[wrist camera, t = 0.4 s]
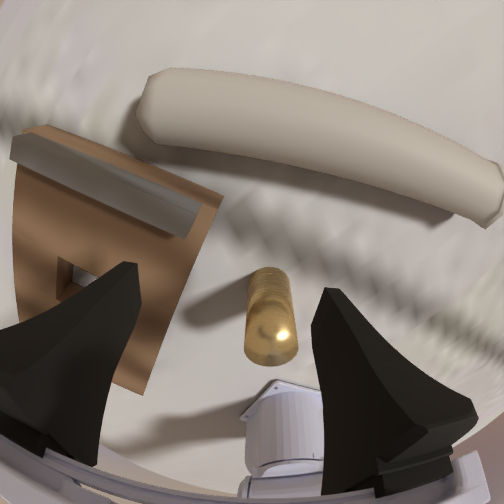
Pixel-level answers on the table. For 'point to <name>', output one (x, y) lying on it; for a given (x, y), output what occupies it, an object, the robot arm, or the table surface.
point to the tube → (319, 137)
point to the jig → (104, 232)
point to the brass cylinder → (270, 319)
